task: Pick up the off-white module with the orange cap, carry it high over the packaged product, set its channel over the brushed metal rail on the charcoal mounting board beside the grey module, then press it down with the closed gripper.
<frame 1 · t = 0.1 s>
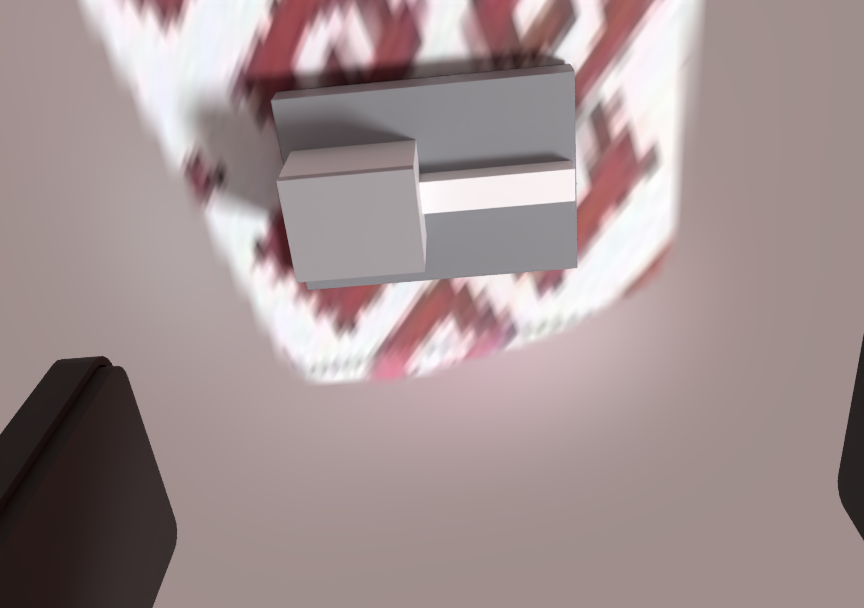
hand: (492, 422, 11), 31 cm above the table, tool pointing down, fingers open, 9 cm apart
rail board: (432, 177, 42), on the table
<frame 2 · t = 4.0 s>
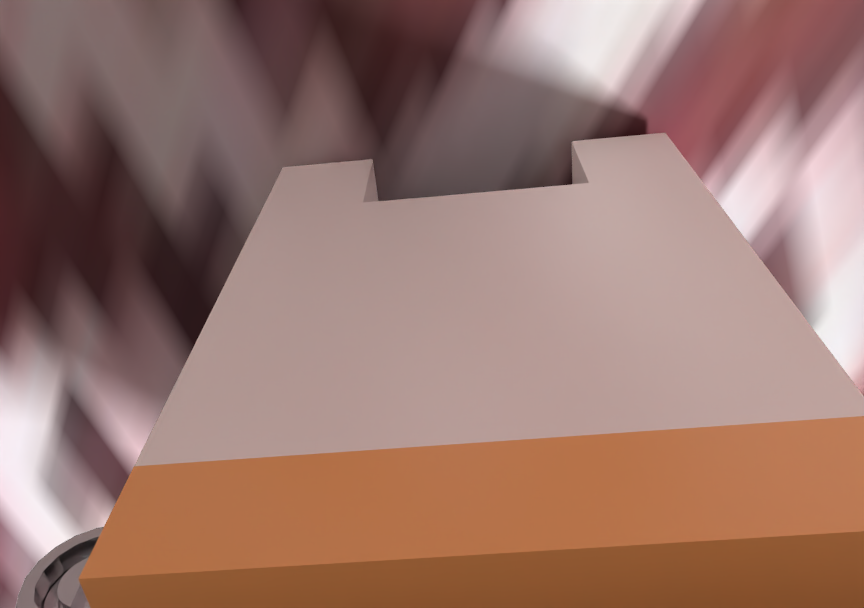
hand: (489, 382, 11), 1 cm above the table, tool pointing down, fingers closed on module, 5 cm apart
module: (486, 344, 12), on the table, touching gripper
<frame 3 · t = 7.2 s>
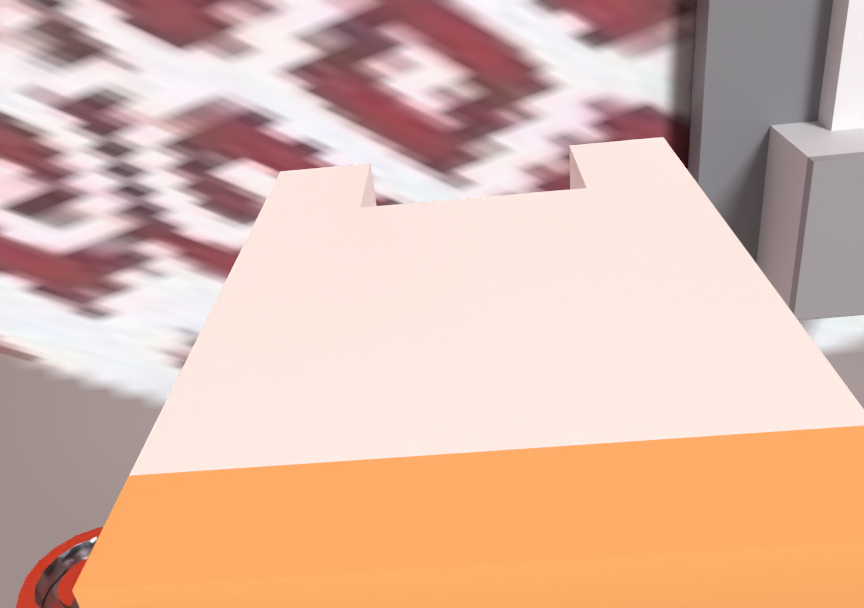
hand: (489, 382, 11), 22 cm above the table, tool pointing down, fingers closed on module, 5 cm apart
rail board: (824, 94, 31), on the table
module: (484, 348, 12), point 21 cm above the table, touching gripper
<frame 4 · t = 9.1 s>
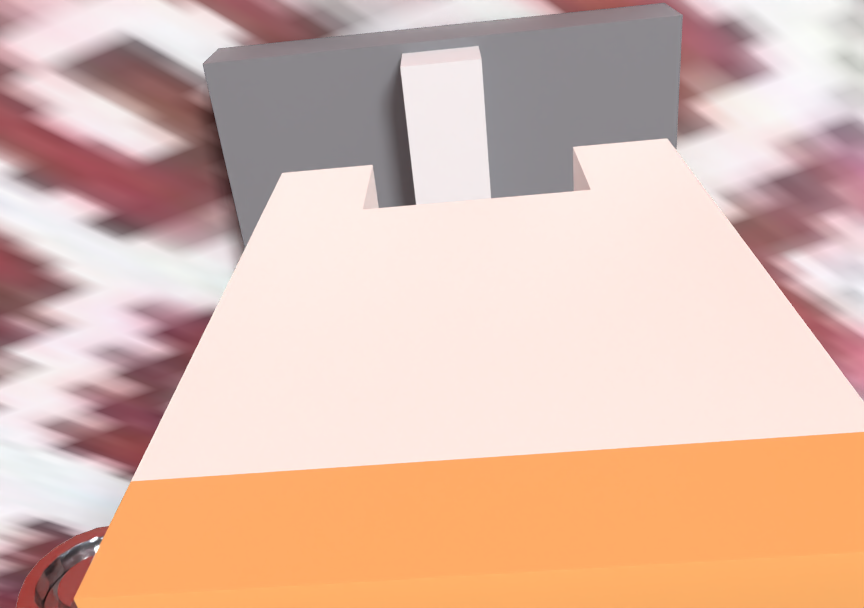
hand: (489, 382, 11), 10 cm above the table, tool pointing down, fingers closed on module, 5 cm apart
rail board: (463, 299, 22), on the table
module: (487, 350, 12), point 9 cm above the table, touching gripper
when the fingers open (3 cm above the table, at t = 10.7 s): module stays where it is, resting on rail board.
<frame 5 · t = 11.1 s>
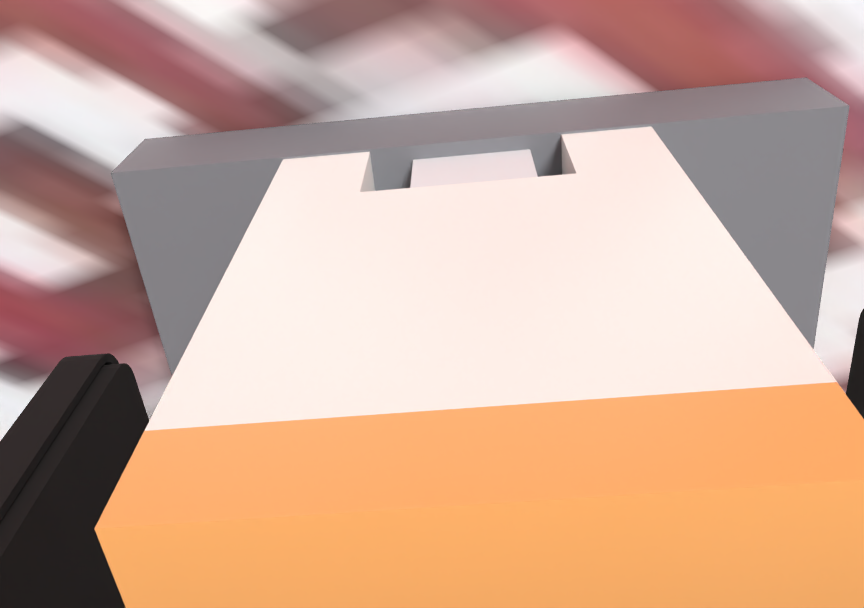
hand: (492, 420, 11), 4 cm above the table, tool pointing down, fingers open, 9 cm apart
rail board: (495, 467, 16), on the table
module: (480, 332, 13), point 1 cm above the table, touching rail board
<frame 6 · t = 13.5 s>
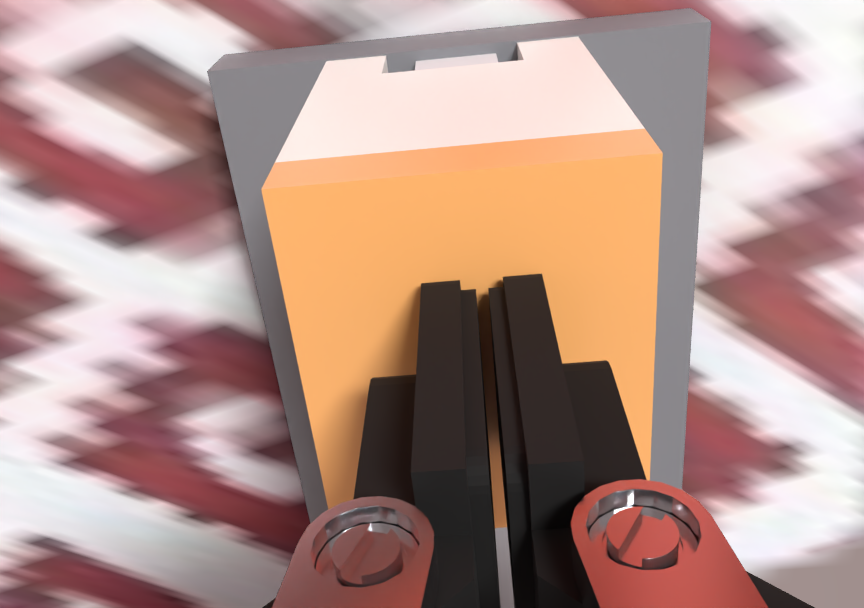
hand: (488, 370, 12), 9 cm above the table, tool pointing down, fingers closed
rail board: (477, 314, 21), on the table
module: (463, 190, 18), point 2 cm above the table, touching gripper, rail board
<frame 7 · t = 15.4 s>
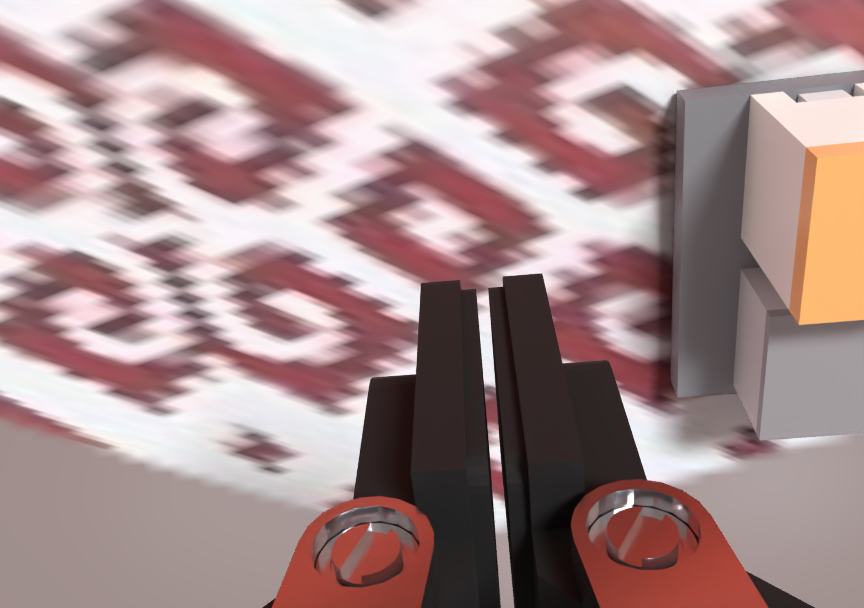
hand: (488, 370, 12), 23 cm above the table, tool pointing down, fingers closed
rail board: (791, 237, 36), on the table
module: (810, 163, 33), point 1 cm above the table, touching rail board
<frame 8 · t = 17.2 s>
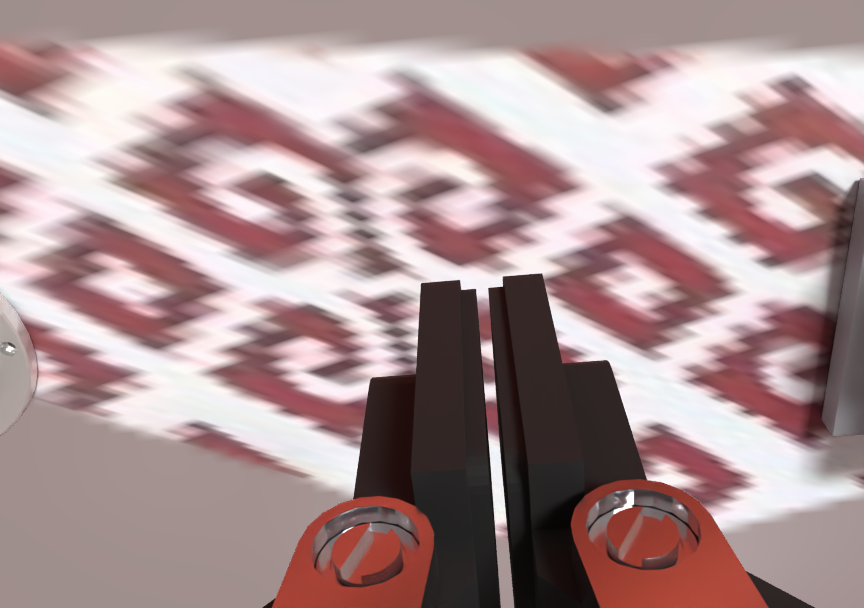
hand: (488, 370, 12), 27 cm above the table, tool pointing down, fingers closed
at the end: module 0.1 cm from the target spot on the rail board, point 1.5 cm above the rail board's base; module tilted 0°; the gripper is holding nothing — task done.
